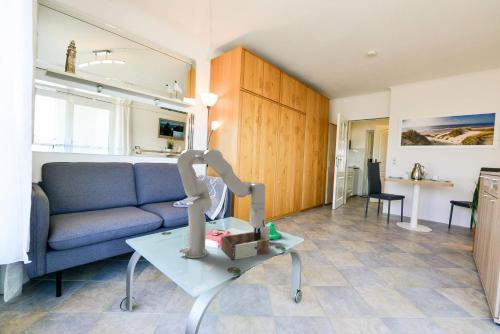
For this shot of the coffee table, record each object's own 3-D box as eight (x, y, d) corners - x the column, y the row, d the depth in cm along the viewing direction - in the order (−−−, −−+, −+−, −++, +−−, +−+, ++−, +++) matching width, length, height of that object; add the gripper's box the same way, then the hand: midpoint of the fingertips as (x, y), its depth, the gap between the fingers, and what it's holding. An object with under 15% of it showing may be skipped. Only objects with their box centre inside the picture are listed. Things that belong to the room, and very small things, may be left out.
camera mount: (269, 241, 149) (269, 226, 149) (262, 237, 155) (263, 223, 155) (282, 238, 155) (282, 223, 155) (275, 234, 162) (276, 221, 162)
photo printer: (268, 241, 148) (269, 223, 148) (269, 243, 144) (270, 225, 144) (253, 241, 147) (254, 223, 147) (254, 243, 143) (255, 225, 142)
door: (234, 260, 117) (235, 246, 117) (233, 258, 119) (233, 245, 119) (257, 255, 124) (258, 242, 124) (255, 253, 126) (256, 241, 126)
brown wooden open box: (231, 260, 118) (232, 246, 117) (221, 249, 132) (221, 236, 131) (268, 253, 129) (269, 239, 129) (255, 243, 143) (255, 231, 143)
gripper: (245, 203, 121) (244, 236, 122) (259, 209, 108) (258, 245, 109) (256, 202, 125) (256, 234, 126) (271, 207, 112) (271, 242, 113)
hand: (257, 239), depth 117 cm, fingers closed
